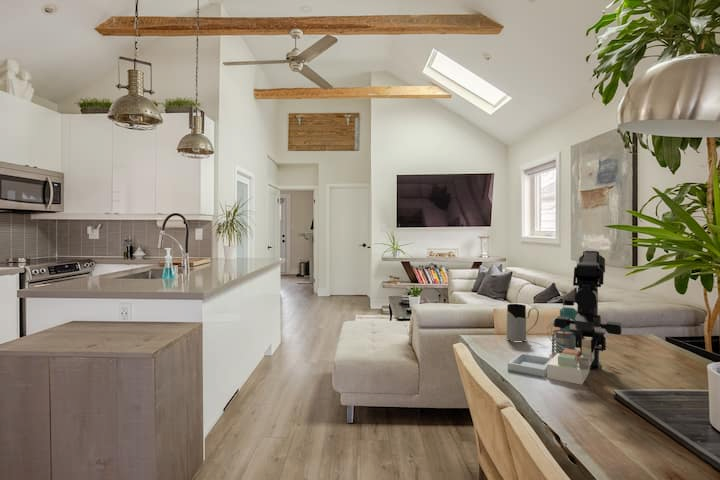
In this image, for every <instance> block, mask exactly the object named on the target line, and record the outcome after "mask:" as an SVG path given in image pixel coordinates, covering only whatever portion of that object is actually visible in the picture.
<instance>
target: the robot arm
mask: <svg viewBox="0 0 720 480" xmlns="http://www.w3.org/2000/svg"><path fill="white" fill-rule="evenodd" d="M573 269H574V270H573V279H572V280H573V281H572V286H576V287H578V288H577V292H576V293H575V295H574V302H575V304H576V305H577V308H576V311H577V314H576V318H575V321H574V320H570V317H562V316H560V315H558V316H557V317H555V318H556V319H555V320H554V322H553V323H554V326H553V327H554V328H559V329H560V328H565V327H566V326H567V325H568V326H570V329H569V331H571V332H573V333H574V334H575V336H576V347H575V349H576V348H577V349H579V351H580V357H581V355H582V338H583V337H591V338H592V346H591V353H593V351H594V360H593V362H592V364H591V366H590V369H594V370H599V369H600V368H601V366H602V363H600V351H601V352H604V351H606V350H607V349H606V347H607V345H606V342H607V341H606V340H607V338H606V336H605V335H606V332H607V333H608V334H610V335H616V336H617V335H619V336H620V335H622V333H623V324H622V323H621V322H619V321H617V322H616V321H606V323H602V317H601V315H599V312H598V311H599V302H598V301H599V288H602V285H604V278H605V277H604V275H605V273H606V258H604V257H603V256H602V255H601V254H600V252H599V251H598V250H585V251H582V255H581V256H579V258H578V263H577V264H576V266H574V268H573Z"/></svg>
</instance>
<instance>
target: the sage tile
mask: <svg viewBox="0 0 720 480" xmlns="http://www.w3.org/2000/svg"><path fill="white" fill-rule="evenodd" d="M558 364H559V365H565V366H571V367H574V365H575V364H576V356H575V355H569V354H562V353H561V354H560V355H559V356H558Z"/></svg>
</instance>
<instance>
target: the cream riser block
mask: <svg viewBox="0 0 720 480" xmlns="http://www.w3.org/2000/svg"><path fill="white" fill-rule="evenodd" d="M559 355H560V354H559V353H557V354H556V355H555V356H554V357H553V359H552V360H551V361H550V362H549V363H548V364H547V374H546V378H547V379H551V380H556V381H561V382H565V383H572V384H576V385H581V386H583V384H584V383H585V380H586V379H587V377H588V376H589V374H590V369H591V368H589V369H588V370H586V369H580V368H579V360H578V361H576V364H575V365H574V367H571V366H565V365H559V364H558V356H559Z"/></svg>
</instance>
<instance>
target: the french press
mask: <svg viewBox="0 0 720 480" xmlns="http://www.w3.org/2000/svg"><path fill="white" fill-rule="evenodd" d="M560 294H561V295H567V291H566V290H561V292H560ZM562 305H563V304H562ZM564 307H565V305H563V306H562V308H563V317H564ZM556 318H557V317H554V318H553V319H552V320H551V322H552V323H550V324H549V325H548V327H547V329H549V328H550V334H551V338H550V336H549V335H550V334H549V333H547V336H548V339H549V340H550V341H551V354H550V355H549V356H548V357H549V358H553V357H554V356H555V355H556V354H557V353H559V354H561V353H562V351H563V350H564V349H572V350H576V347H575V337H574V336H572V335H574V333H573V332H571V331H566V330H564V328H563V330H559V329H554V330H553V331H552V328H553V327H554V320H555V319H556ZM570 320H572V319H570ZM552 332H553V333H552ZM564 337H569V338H571V339H563V338H564ZM566 344H567V346H563V345H566Z"/></svg>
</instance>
